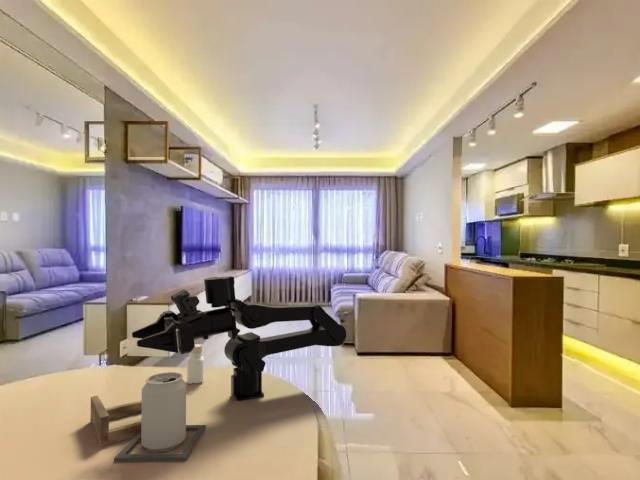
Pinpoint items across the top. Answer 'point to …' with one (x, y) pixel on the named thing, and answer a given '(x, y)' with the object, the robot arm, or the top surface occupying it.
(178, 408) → the can
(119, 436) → the dock
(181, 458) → the holster frame
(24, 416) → the top surface
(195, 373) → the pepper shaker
